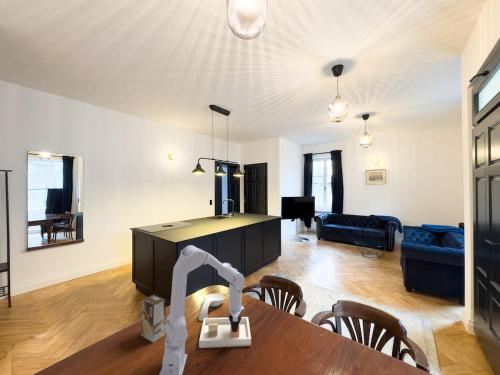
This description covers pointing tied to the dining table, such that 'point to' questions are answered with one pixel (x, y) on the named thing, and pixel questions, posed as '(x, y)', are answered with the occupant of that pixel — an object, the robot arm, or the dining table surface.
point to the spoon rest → (210, 304)
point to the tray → (225, 334)
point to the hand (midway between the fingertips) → (234, 327)
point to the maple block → (213, 328)
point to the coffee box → (153, 318)
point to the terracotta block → (234, 334)
